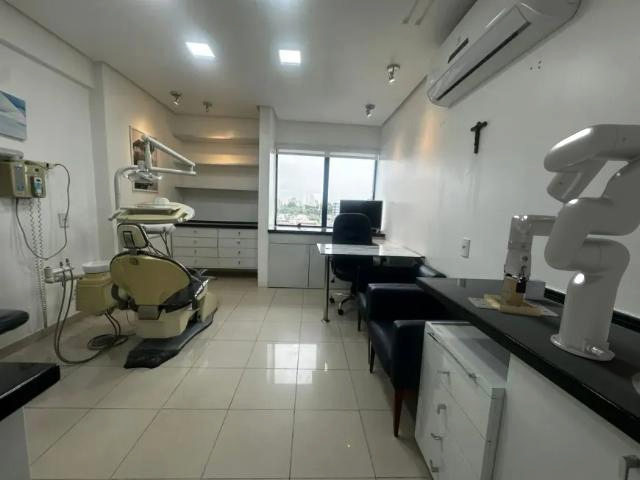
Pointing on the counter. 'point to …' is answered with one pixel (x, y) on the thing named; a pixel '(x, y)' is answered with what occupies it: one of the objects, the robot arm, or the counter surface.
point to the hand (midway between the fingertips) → (513, 289)
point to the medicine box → (535, 289)
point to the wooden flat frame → (526, 308)
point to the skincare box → (511, 293)
